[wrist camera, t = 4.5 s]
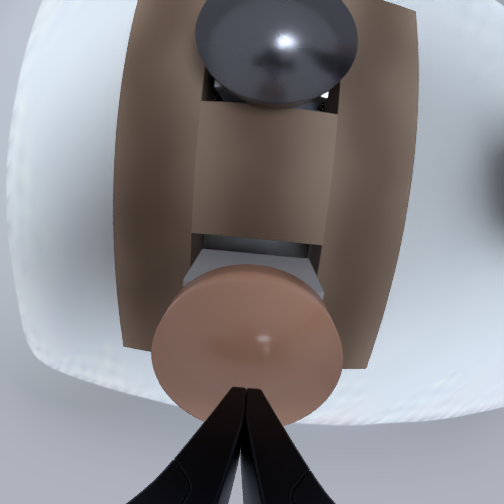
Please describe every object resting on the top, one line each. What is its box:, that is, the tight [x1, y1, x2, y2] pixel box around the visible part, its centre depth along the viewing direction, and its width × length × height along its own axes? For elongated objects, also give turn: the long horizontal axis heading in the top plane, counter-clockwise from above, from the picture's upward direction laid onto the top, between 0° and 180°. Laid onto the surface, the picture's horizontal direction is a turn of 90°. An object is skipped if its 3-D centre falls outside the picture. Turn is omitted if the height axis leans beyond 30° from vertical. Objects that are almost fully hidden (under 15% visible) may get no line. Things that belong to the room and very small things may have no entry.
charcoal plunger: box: [195, 0, 358, 111], centre depth 12 cm, size 6×6×5 cm
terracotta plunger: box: [151, 249, 343, 426], centre depth 12 cm, size 6×6×5 cm
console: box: [113, 0, 419, 369], centre depth 15 cm, size 14×20×4 cm
